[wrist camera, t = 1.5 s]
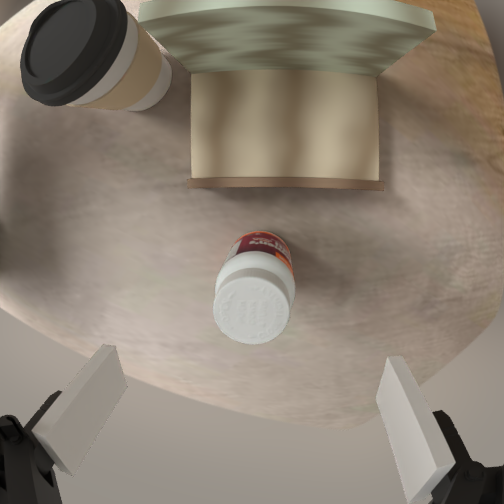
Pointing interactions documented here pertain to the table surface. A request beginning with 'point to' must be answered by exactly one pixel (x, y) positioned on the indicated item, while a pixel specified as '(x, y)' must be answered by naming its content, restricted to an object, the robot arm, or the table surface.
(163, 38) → the wooden l-shaped piece
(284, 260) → the pill bottle
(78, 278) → the table surface
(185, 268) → the table surface
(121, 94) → the coffee cup
